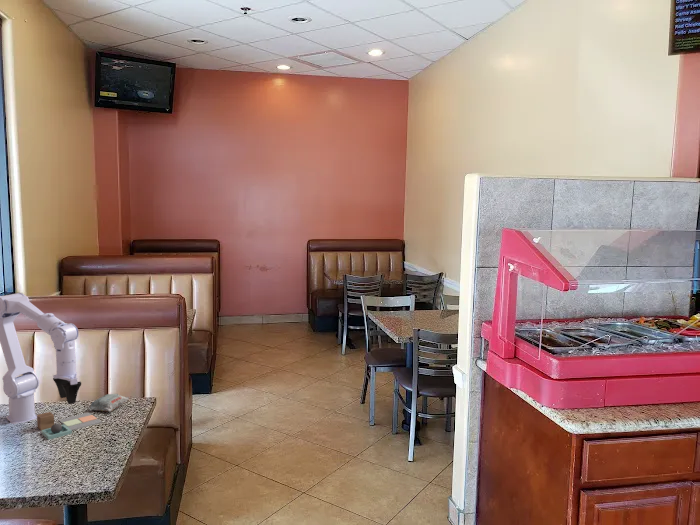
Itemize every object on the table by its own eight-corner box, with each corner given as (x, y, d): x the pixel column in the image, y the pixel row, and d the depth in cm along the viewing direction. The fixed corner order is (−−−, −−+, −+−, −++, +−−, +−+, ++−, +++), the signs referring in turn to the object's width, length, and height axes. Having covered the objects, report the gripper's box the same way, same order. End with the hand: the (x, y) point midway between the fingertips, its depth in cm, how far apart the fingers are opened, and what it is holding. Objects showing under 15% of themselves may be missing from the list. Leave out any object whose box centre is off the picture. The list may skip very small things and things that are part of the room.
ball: (49, 433, 180) (49, 423, 180) (60, 430, 183) (59, 421, 182) (52, 436, 178) (52, 426, 178) (63, 433, 180) (63, 423, 180)
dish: (41, 434, 180) (41, 430, 180) (64, 428, 185) (64, 424, 185) (48, 441, 175) (48, 436, 175) (71, 435, 180) (71, 430, 180)
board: (58, 422, 191) (58, 419, 191) (88, 414, 198) (88, 411, 198) (70, 432, 182) (70, 429, 182) (101, 424, 189) (101, 421, 189)
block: (37, 429, 185) (36, 414, 184) (50, 426, 188) (49, 411, 187) (41, 432, 182) (40, 418, 182) (54, 429, 185) (53, 415, 184)
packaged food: (129, 404, 209) (128, 391, 208) (109, 416, 197) (109, 402, 197) (108, 403, 210) (108, 390, 210) (88, 414, 199) (87, 401, 198)
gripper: (46, 358, 187) (48, 397, 188) (60, 367, 176) (62, 409, 178) (68, 354, 192) (70, 392, 193) (83, 363, 181) (85, 403, 183)
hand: (67, 400), depth 186 cm, fingers open, 7 cm apart
